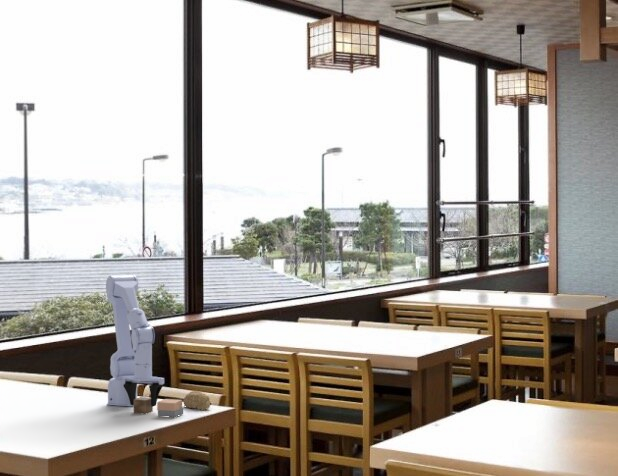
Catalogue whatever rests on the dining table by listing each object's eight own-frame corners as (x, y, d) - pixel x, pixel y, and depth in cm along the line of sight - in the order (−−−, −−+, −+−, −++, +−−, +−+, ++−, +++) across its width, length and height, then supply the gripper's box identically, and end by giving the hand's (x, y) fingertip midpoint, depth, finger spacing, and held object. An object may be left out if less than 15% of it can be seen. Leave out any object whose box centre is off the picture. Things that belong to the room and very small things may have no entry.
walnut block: (133, 413, 310) (133, 399, 310) (140, 410, 314) (140, 397, 314) (145, 414, 309) (145, 400, 309) (152, 411, 313) (152, 397, 313)
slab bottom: (157, 417, 304) (157, 409, 304) (166, 414, 310) (166, 406, 310) (174, 419, 302) (174, 411, 302) (183, 415, 308) (183, 407, 308)
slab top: (157, 410, 304) (157, 402, 304) (165, 406, 310) (165, 399, 310) (174, 411, 302) (174, 403, 302) (182, 407, 308) (182, 399, 308)
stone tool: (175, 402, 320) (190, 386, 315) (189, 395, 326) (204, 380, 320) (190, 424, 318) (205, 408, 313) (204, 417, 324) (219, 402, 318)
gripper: (117, 364, 310) (117, 406, 310) (156, 366, 305) (157, 408, 305) (128, 361, 317) (128, 402, 317) (167, 363, 312) (167, 404, 312)
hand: (143, 405), depth 311 cm, fingers open, 7 cm apart
